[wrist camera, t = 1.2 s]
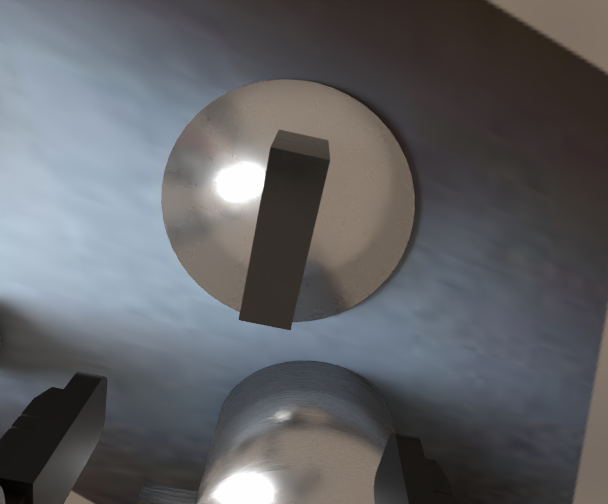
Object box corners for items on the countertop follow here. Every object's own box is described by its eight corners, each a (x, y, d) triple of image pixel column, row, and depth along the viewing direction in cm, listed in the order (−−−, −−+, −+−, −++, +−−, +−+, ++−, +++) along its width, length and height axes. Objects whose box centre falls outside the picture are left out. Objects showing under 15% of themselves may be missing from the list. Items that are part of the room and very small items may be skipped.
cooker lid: (180, 50, 28) (142, 52, 22) (445, 111, 29) (477, 127, 23) (155, 290, 35) (120, 341, 29) (374, 334, 35) (386, 392, 29)
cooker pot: (186, 336, 35) (140, 437, 26) (459, 388, 37) (506, 503, 27) (167, 475, 41) (123, 599, 32) (405, 517, 42) (429, 649, 33)
